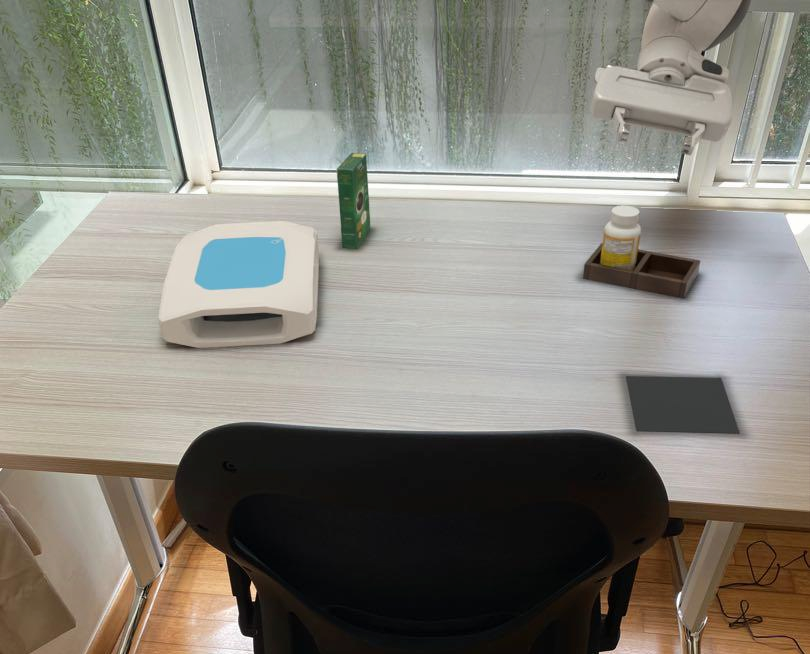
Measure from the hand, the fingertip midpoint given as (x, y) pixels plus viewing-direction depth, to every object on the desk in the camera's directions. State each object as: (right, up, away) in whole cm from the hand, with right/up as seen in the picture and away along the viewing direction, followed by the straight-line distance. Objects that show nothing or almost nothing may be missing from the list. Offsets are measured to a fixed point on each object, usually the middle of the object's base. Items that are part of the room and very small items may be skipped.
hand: (654, 144), depth 125 cm
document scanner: (-60, -21, +7) cm, 63 cm away
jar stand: (0, -17, +8) cm, 19 cm away
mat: (-2, -40, -17) cm, 44 cm away
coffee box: (-44, -7, +21) cm, 49 cm away
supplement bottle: (-3, -16, +9) cm, 18 cm away
